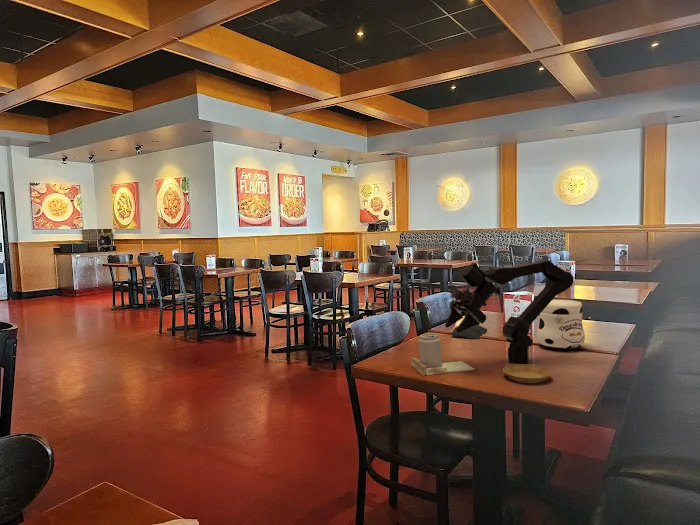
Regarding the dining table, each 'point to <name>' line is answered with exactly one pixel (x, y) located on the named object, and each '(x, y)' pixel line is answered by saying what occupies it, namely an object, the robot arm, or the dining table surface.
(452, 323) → the robot arm
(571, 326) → the milk container
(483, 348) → the dining table surface
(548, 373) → the plant saucer
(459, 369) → the mat
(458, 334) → the dark slate chunk
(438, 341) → the can
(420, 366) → the shelf lane
